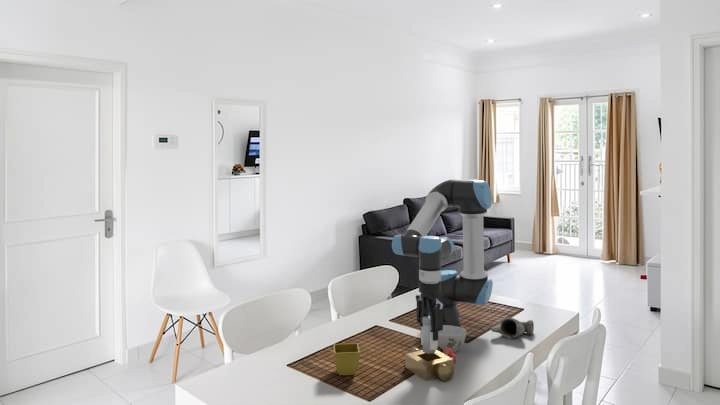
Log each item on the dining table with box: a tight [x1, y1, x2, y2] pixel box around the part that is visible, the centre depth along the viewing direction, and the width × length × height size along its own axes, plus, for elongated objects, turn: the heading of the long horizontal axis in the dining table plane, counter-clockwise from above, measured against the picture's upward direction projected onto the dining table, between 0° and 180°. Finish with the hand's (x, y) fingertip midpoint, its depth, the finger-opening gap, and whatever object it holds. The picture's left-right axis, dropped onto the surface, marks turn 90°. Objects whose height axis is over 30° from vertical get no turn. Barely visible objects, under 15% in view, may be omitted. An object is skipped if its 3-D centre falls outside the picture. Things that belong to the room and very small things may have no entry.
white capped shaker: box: [422, 316, 435, 353], centre depth 180 cm, size 5×5×12 cm
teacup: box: [438, 325, 468, 353], centre depth 199 cm, size 15×12×8 cm
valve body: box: [404, 346, 457, 382], centre depth 182 cm, size 20×15×6 cm
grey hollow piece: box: [490, 317, 535, 339], centre depth 214 cm, size 16×9×15 cm
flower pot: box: [332, 342, 361, 376], centre depth 179 cm, size 9×9×9 cm
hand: (429, 346), depth 180 cm, fingers closed on white capped shaker, 4 cm apart
